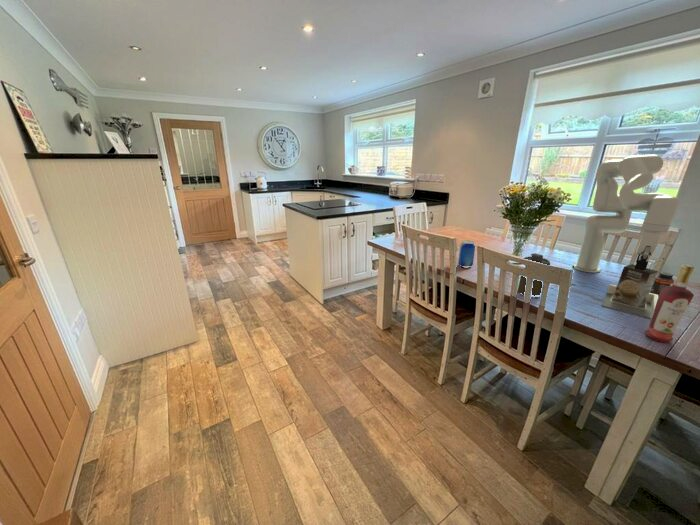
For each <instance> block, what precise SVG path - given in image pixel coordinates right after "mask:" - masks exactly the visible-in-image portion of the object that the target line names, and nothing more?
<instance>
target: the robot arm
mask: <svg viewBox="0 0 700 525" xmlns="http://www.w3.org/2000/svg"><path fill="white" fill-rule="evenodd" d="M663 165H664V160H663V158H662V156H660V155H657V154H645V155H644V154H643V155H642V154H640V155H639V154H638V155H630V156H626V157H624V158H623V159H611V160H607V161H603V162H602V163H601V164H599V166H598V168H597V169H596V174H595V175H596V176H595V178H596V190H595V194H594V199H593V202H592V209H593V211H594V212H595V213H596V212H597V213H605V214H594V215H591V216H589V217H587V219H586V221H585V225H584V226H585V228H584V235H583V239H582V244H581V247H580V251H579V255H578V258H577V262H576V263H573V264H572V267H573V266H574V268H573V269H574V270H577V271H581V272H584V273H591V274H592V273H593V274H594V273H600V272H601V270H602V269H601V268H600V267H599V265H600V262H601V258H602V254H603V253H604V252H603V251H604V247H605V244H606V238H605V237H604V234H621V233H624V232H626V231H627V229H628V227H629V224H630V220H631V216H632V212H646V214H645V217H644V218H643V219H644V220H643V222H642V225H641V228H640V230H641V231H643V232H642V235H641V236H640V240H639V242H638V245H637V247H636V250H635V254H636V255H637V257H636V261H635V264H634V265H635V268H634V269H637V270H642V271H645V270H646V268H648V265H649V260H650V258H651V257H653V255H654V253H655V251H656V250H657V247H658V245H659V242H660V240H661V238H662V236H663V234H667V233H669V229H670V227H671V224H672V222H673V219H674V218H675V215H676V212H677V209H678V207H679V204H680V202H681V200H680V198H679V197H676V196H671V195H669V194H668V193H664V192H663V193H662V192H634V191H637V190H639V189H640V190H641V189H642V188H645V187H647V186H648V185H649V184H651V183H652V182H653V179H654V175H655V174H657V173H659V172H660V171H661V170H662V168H663ZM615 178H622V179H623V180H624V184H623V185H622V186H621V187H620V190H619V183H618V182H617V180H616V179H615ZM618 190H619V192H618ZM618 193H619V194H618ZM606 213H607V214H606ZM609 213H610V215H609ZM611 213H612V214H613V215H611ZM614 214H615V215H614Z"/></svg>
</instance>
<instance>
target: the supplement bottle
mask: <svg viewBox="0 0 700 525" xmlns="http://www.w3.org/2000/svg"><path fill="white" fill-rule="evenodd" d="M673 277H674V274H672V273H669V272H666V271H665V272H663V271H661V272H659V275H658V276H657V275H656V277H655V280H654V282H653V285H652V287H651V290H650V292H649V293H653V294H657V295H658V297H659V294H660V291H661V288H662V287H666V286H673V284H674V282H675V280H674V278H673Z"/></svg>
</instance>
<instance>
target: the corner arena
mask: <svg viewBox="0 0 700 525" xmlns="http://www.w3.org/2000/svg"><path fill="white" fill-rule="evenodd" d="M616 288H617V285H615V284H608V287H607V291H606V293H605V297H604V299H603V301H602V304H601V307H602V308H607V309H610V310H615V311H619V312H623V313H627V314H631V315H634V316H638V317H640V318H641V317H642V318H646V319H650V320H651V319H652V316H653V313H654V310H655V307H656V303H657V300H658V295H657V294H653V293H650V292H649V294H648V297H647V299H646V302H645V304H644V305H641V306H638V307H635V306H632V305H629V304H627V303H624V302H621V301H619V300H616V299H613V296H614V293H615V290H616Z"/></svg>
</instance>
